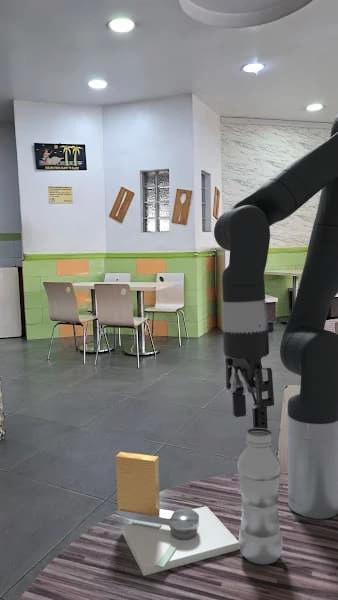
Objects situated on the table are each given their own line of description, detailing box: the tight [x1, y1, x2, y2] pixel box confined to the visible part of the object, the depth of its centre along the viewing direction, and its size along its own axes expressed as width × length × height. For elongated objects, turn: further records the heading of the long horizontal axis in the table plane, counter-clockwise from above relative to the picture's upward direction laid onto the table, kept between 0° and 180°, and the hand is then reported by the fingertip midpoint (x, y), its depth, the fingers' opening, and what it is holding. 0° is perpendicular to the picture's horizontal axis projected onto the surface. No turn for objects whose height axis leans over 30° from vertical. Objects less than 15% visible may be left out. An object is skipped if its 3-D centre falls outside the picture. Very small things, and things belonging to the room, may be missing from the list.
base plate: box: [121, 505, 240, 577], centre depth 78 cm, size 16×14×2 cm
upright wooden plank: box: [115, 451, 199, 533], centre depth 79 cm, size 14×5×11 cm, turn 71°
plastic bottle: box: [236, 427, 284, 566], centre depth 73 cm, size 6×7×20 cm
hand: (249, 422), depth 81 cm, fingers open, 8 cm apart
